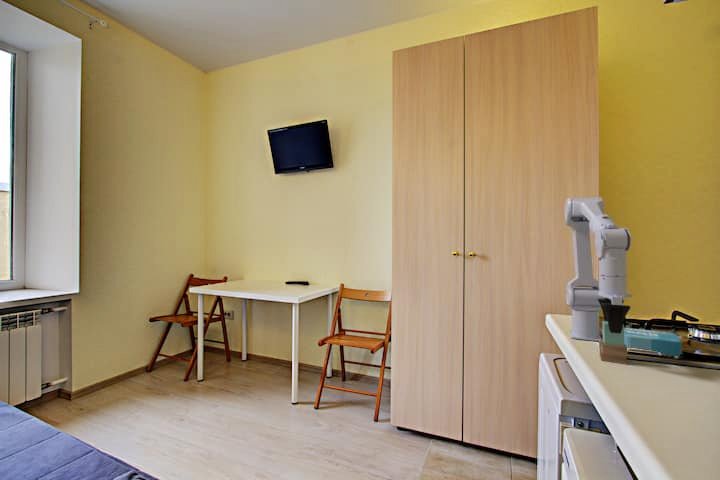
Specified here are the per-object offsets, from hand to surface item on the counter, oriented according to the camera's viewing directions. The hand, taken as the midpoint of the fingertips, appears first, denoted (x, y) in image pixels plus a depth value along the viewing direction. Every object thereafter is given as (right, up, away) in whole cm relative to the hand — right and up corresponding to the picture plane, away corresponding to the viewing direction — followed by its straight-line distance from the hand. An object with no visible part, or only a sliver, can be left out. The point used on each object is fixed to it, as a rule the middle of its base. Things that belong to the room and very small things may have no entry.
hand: (613, 329), depth 89 cm
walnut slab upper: (0, -6, 0) cm, 6 cm away
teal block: (0, -3, 0) cm, 3 cm away
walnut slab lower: (0, -8, 0) cm, 8 cm away
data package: (+12, -5, +2) cm, 13 cm away
